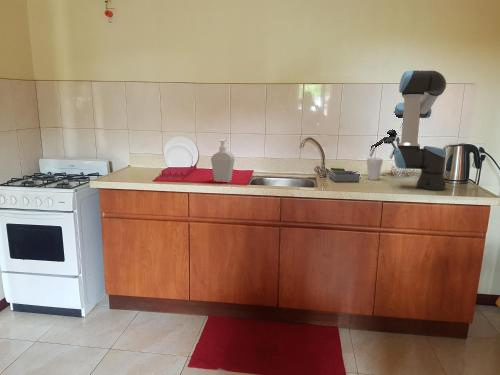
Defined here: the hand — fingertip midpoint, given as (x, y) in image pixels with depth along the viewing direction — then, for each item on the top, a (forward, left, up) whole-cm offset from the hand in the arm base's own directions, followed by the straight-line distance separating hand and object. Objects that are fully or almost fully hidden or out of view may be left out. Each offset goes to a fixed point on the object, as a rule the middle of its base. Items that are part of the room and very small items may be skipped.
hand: (380, 156), depth 245 cm
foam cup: (-7, +6, -13) cm, 16 cm away
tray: (-10, +26, -13) cm, 31 cm away
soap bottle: (-14, +101, -13) cm, 103 cm away
